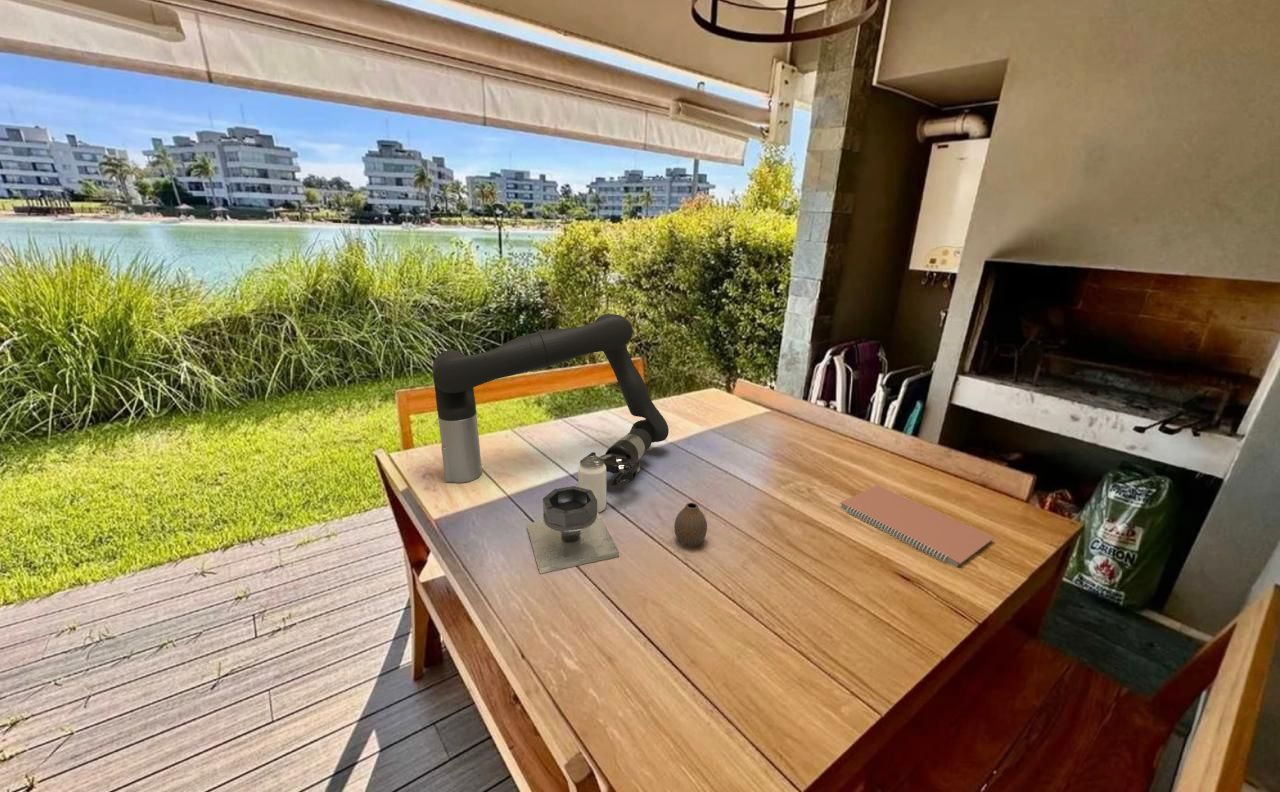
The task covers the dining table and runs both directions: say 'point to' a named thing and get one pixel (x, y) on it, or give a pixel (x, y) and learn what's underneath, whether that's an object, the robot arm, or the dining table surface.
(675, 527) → the vase
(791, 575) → the dining table surface
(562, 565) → the cup bracket
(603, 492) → the can
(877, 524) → the notebook
